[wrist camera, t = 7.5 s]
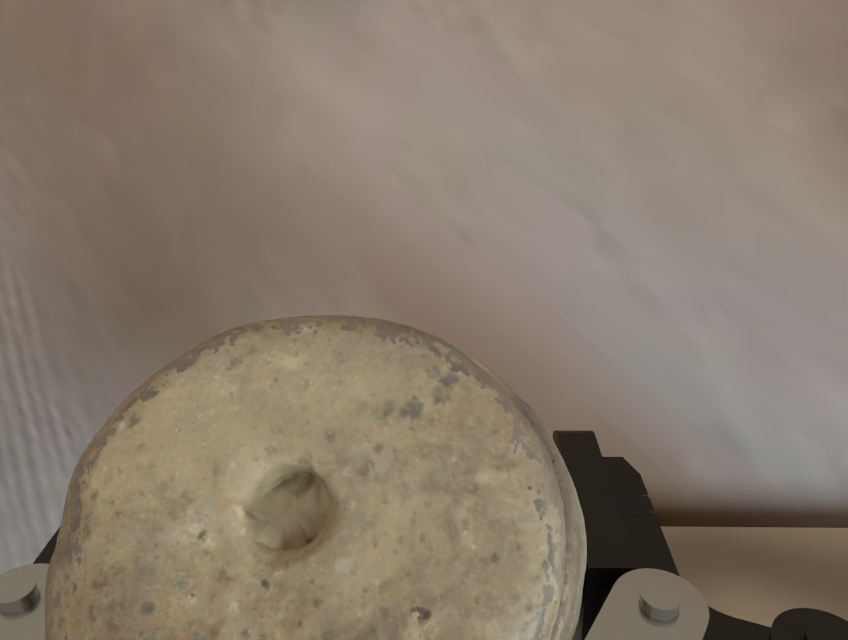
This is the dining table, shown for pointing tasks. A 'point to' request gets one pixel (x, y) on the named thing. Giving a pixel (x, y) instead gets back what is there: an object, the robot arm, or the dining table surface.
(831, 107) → the dining table surface
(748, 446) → the dining table surface
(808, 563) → the walnut board
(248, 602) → the carving
